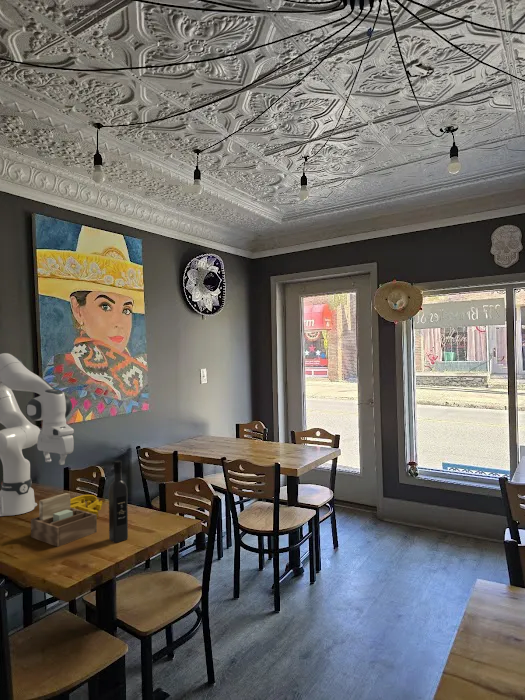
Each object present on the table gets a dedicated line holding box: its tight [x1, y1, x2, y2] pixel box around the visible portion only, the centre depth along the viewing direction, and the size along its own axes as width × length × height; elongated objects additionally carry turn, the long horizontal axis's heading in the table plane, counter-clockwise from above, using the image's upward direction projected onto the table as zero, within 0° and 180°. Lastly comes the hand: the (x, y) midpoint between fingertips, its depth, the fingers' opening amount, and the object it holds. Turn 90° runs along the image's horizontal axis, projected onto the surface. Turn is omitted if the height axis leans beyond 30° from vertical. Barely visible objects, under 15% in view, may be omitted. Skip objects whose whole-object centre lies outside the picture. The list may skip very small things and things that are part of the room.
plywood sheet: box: [38, 492, 71, 521], centre depth 185 cm, size 2×12×14 cm, turn 147°
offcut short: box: [53, 510, 73, 522], centre depth 182 cm, size 4×6×3 cm, turn 148°
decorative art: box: [70, 494, 103, 518], centre depth 212 cm, size 21×3×30 cm
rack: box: [30, 507, 98, 548], centre depth 182 cm, size 18×17×7 cm
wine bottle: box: [108, 460, 129, 544], centre depth 176 cm, size 6×6×30 cm
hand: (55, 463), depth 185 cm, fingers open, 8 cm apart
